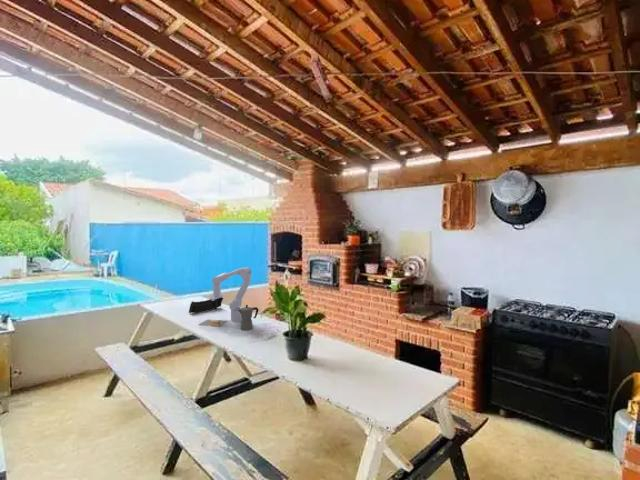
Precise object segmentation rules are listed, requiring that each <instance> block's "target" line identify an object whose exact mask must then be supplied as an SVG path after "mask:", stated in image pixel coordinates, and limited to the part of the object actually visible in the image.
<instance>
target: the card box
mask: <svg viewBox="0 0 640 480" xmlns="http://www.w3.org/2000/svg"><path fill="white" fill-rule="evenodd" d="M210 320H211V321H210V325H216V326H219V325H220V324H221V320H219V319H210Z"/></svg>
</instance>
